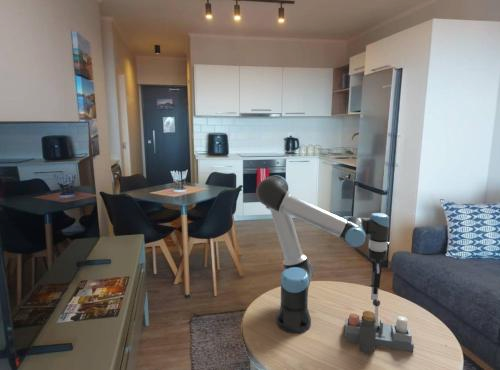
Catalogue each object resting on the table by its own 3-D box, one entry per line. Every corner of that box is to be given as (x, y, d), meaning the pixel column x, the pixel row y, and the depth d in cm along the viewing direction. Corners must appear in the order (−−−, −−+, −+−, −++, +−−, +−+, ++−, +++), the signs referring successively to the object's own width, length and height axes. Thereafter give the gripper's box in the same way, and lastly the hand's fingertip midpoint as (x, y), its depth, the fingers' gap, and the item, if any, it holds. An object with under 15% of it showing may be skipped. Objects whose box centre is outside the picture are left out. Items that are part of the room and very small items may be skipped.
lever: (372, 329, 135) (373, 298, 139) (371, 328, 138) (372, 298, 142) (380, 330, 134) (380, 299, 138) (379, 329, 137) (379, 299, 141)
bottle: (377, 353, 127) (380, 317, 124) (364, 355, 125) (367, 319, 123) (368, 343, 132) (370, 308, 130) (355, 346, 131) (357, 311, 128)
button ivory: (396, 332, 130) (397, 321, 129) (395, 326, 134) (396, 315, 133) (407, 334, 129) (408, 322, 128) (405, 328, 133) (406, 317, 132)
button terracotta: (348, 329, 135) (349, 318, 134) (348, 324, 139) (349, 313, 138) (358, 331, 134) (359, 319, 133) (358, 325, 138) (359, 314, 137)
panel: (345, 340, 134) (346, 324, 133) (344, 324, 145) (345, 308, 144) (413, 351, 128) (414, 334, 126) (407, 333, 139) (408, 317, 138)
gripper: (389, 255, 137) (385, 308, 141) (385, 244, 149) (381, 293, 153) (369, 253, 139) (366, 305, 143) (367, 243, 151) (364, 291, 155)
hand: (374, 299), depth 148 cm, fingers closed
